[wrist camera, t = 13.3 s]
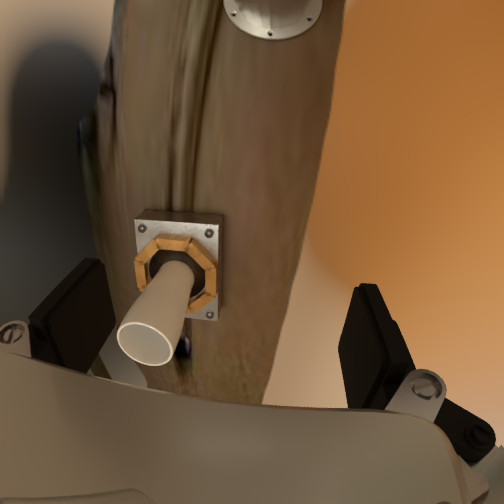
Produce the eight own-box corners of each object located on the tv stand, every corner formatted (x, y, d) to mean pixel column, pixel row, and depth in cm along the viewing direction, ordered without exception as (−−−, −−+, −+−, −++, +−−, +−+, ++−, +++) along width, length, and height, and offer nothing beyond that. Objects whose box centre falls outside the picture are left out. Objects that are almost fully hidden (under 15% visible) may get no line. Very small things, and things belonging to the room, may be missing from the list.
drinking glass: (153, 252, 44) (110, 317, 31) (199, 255, 44) (170, 326, 30) (158, 291, 47) (122, 361, 34) (201, 296, 47) (176, 370, 34)
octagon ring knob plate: (144, 209, 46) (130, 223, 41) (223, 214, 45) (216, 229, 40) (153, 298, 53) (142, 317, 48) (221, 306, 52) (216, 327, 48)
